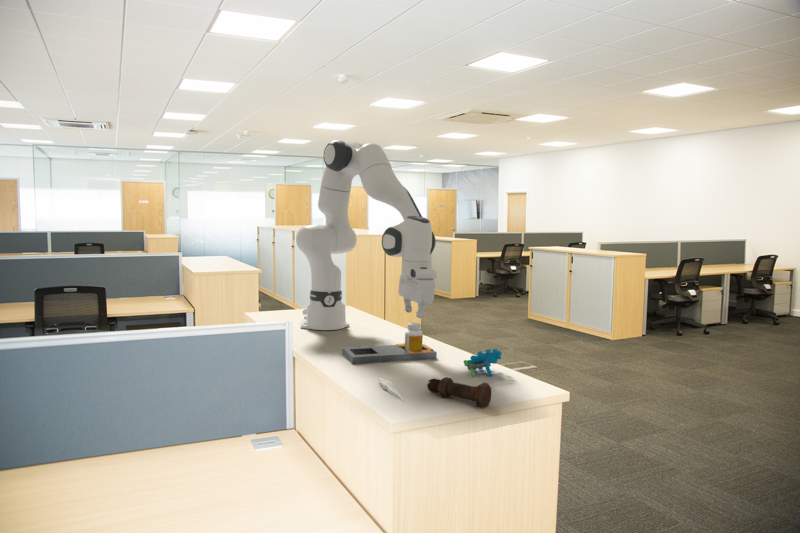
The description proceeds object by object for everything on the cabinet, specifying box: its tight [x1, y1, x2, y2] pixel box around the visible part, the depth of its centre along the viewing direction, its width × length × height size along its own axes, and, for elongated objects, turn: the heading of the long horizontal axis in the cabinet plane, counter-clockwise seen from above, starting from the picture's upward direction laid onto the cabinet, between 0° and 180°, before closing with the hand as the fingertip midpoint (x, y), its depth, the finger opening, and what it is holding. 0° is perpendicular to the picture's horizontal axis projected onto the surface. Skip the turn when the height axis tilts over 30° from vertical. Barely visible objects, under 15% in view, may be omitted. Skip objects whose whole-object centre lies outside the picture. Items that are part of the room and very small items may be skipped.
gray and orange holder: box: [341, 342, 438, 365], centre depth 157 cm, size 12×26×2 cm, turn 110°
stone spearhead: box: [378, 376, 404, 402], centre depth 124 cm, size 15×3×2 cm, turn 23°
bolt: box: [426, 376, 492, 409], centre depth 120 cm, size 6×5×15 cm
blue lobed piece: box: [463, 348, 503, 377], centre depth 140 cm, size 11×6×10 cm
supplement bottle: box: [404, 322, 424, 351], centre depth 159 cm, size 5×5×10 cm
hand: (413, 314), depth 159 cm, fingers open, 8 cm apart
